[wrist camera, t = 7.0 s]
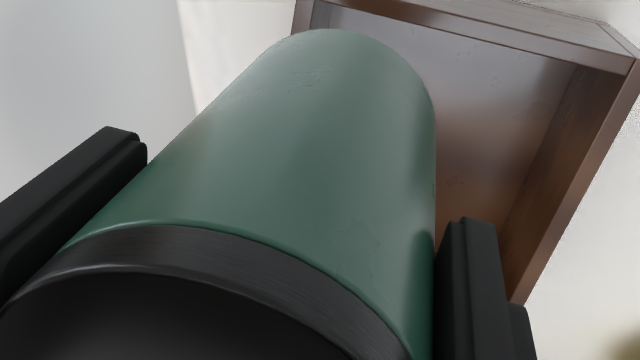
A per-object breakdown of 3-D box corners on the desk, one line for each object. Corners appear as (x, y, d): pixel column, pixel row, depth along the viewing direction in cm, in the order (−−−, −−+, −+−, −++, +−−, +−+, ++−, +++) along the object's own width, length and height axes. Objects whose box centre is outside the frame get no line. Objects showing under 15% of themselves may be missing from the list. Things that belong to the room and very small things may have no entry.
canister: (245, 6, 13) (-64, 204, 5) (464, 55, 13) (506, 361, 5) (228, 189, 16) (12, 504, 8) (406, 235, 16) (369, 618, 8)
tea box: (329, -44, 27) (300, -24, 22) (608, 23, 26) (656, 63, 21) (280, 212, 36) (250, 275, 30) (490, 270, 35) (501, 347, 29)
